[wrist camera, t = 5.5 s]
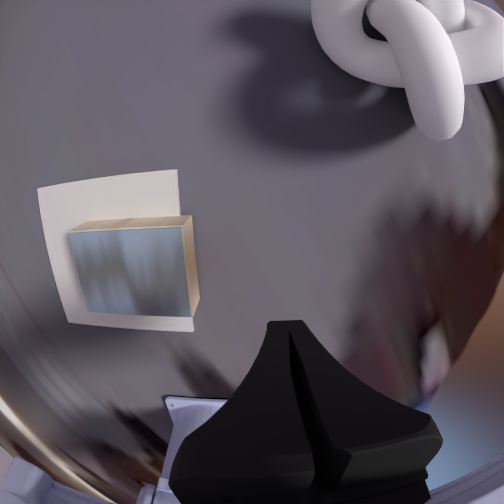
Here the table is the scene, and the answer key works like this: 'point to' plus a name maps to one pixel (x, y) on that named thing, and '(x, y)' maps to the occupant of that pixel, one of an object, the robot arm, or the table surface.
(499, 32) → the white torus knot
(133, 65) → the table surface
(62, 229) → the white mat
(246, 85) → the table surface
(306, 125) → the table surface
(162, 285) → the blue tan block
